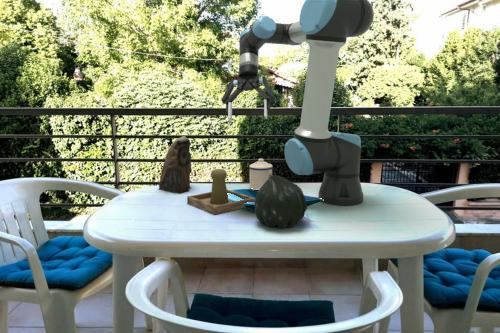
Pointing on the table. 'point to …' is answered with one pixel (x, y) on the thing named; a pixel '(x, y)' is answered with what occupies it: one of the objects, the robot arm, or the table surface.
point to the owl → (177, 167)
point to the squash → (280, 203)
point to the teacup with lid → (259, 173)
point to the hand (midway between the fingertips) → (247, 118)
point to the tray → (204, 204)
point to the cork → (219, 187)
